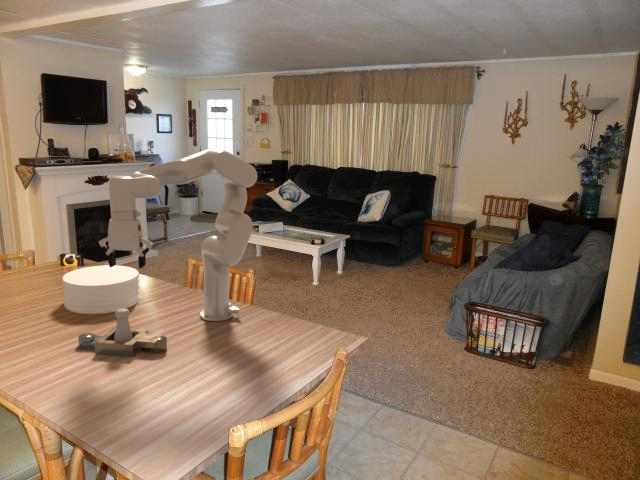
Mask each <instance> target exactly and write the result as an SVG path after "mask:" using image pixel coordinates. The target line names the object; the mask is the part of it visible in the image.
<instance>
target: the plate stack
mask: <svg viewBox="0 0 640 480" xmlns="http://www.w3.org/2000/svg"><path fill="white" fill-rule="evenodd" d="M139 275H140V273H139V270H137V269H136V268H134V267H131V266H126V265H119V264H118V265H114V266H113V267H110V266H109V264H107V265H105V264H104V265H103V264H102V265H94V266H86V267H81V268H78V269H74V270H71V271H69V272H67V273H65V274H64V275H63V276H62V278H61V279H62V288H63V301H64V303H63V304H64V305H63V306H64V308H65V309H66V310H67V311H70V312H73V313H77V314H83V315H85V314H87V315H97V314H107V313H113V312H116V310H118V309H122V308H126V309H129V308H131V307H134V306H135V305H136V304H138V303H139V302H140V300H141V297H140V278H139V277H140V276H139Z"/></svg>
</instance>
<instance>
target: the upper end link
mask: <svg viewBox="0 0 640 480" xmlns="http://www.w3.org/2000/svg"><path fill="white" fill-rule="evenodd" d="M115 331H116V326H113V327H112V328H111V329H109V330H108V331H107V332H106V333H104V334H103V335H101V336H102V337H101V338H100V339H98V340H97V341H96V342H95V348H98V349H112V350H125V351H133V350H134V349H135V348H136V347H142V348H144V349H145V348H146V349H150V352H151V353H152V354H163V353H166V352H167V351H168V337H167V336H166V335H163V334H158V333H157V334H156V333H149V329H142V328H141V329H139V328H131V333H132V337H134V338H133V339H132V340H130V341H129V342H123V341H111V340H112V339H113V338H114V336H115Z"/></svg>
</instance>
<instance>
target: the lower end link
mask: <svg viewBox="0 0 640 480" xmlns="http://www.w3.org/2000/svg"><path fill="white" fill-rule="evenodd" d="M102 336H103V335H99V334H97V335H96V334H95V333H93V332H86V333H82V334H79V335H78V337H77V338H78V347H79V348H81V349H84V350H94V351H95V355H103V356H115V357H128V358H133V357H134V356H136V354H137V353H139V351H140V350H141V349H142V348H143V347H136V348H135V349H134V350H133V351H125V350H112V349H98V348H95V342H96V341H97V340H98V339H100V338H101V337H102ZM133 338H134V337H133ZM111 341H114V338H113V339H112V340H111Z"/></svg>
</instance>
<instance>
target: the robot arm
mask: <svg viewBox="0 0 640 480" xmlns="http://www.w3.org/2000/svg"><path fill="white" fill-rule="evenodd" d="M212 174H215V175H219V176H220V179H221V181H222V182H223V185H224V188H225V189H224V190H225V193H224V194H225V195H224V198H223V201H222V203H221V206H220V209H219V211H218V214H217V216H216V219H215V223H214V226H215V229H216V230H217V231H218V232H219V233H220V234H223V235H224V236H225V235H226V237H222V236H219V235H210V236H208V237H206V238H205V239H204V240H203V241H202V243H201V247H200V252H201V259H202V263H203V309H202V310H201V311H200V312H199V318H201V319H202V320H205V321H208V322H222V321H223V322H224V321H226V320H228V319H231V318H232V317H233V315H234V314H235V315H237V314H238V315H240V312H241V310H240V308H239V307H238V306H232V302H230V268H229V267H234V266H236V265H238V264H239V263H240V261H241V260H242V258H243V257H244V254H245V251H246V248H247V246H248V244H249V240H250V238H251V236H252V234H253V233H252V232H253V228H254V226H253V220H252V218H251V217H250V215H248V214H246V213H244V212H245V209H246V205H247V202H248V191H247V188H251V187H253V186H254V185H255V184H256V182H257V180H258V172H257V170H256V168H255V167H254V166H253V165H251V164H250V163H249V162H247V161H245V160H243V159H241V158H240V157H237V156H236V155H234V154H233V153H231V152H228V151H226V150H221V149H215V148H214V149H212V148H208V149H204V150H202V151H199V152H196V153H194V154H192V155H191V154H190V155H188V156H185V157H181V158H179V159H175V160H172V161H167V162H165V163H160V164H156V165H152V166H148V167H146V168H143V169H142V168H141V169H140V170H137V171H134V172H132V173H130V174H129V175H116V176H114V175H113V176H112V177H110V178H109V179H108V191H109V192H108V193H109V205H110V219H109V221H108V226H107V228H108V229H107V236H106V237H104V238H103V239H101V240H99V241H98V244H99V246H100V247H101V250H102V251H103V252H104V253H105V255H106V256H107V262H108V263H107V264H108V265H109V266H110V267H113V266H114V265H116V264H117V260H116V259H117V258H116V252H115V251H126V252H127V251H129V252H130V251H131V252H132V251H133V252H134V251H135V252H136V254H138V255H139V256H138V258H137V259H138V268H139V269H144V267H145V266H146V263H147V260H146V255H147V254H148V253H149V252H150V251H151V249H152V247H153V245H154V243H153V241H151V240H149V239H147V238H145V237H144V232H143V227H142V224H141V221H140V218H139V217H141V212H140V211H139V212H138V209H137V202H136V201H137V199H147V200H148V199H149V200H150V199H154V198H157V197H158V196H159V195H160V194H161V193H162V190H163V187H164V186H171V185H172V186H173V185H174V186H175V185H179V186H180V185H185V184H186V185H187V184H189V183H192V182H194V181H196V180H199V179H201V178H204V177H207V176H209V175H212ZM106 242H107V244H106ZM144 245H145V246H146V247H145V249H144Z"/></svg>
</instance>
